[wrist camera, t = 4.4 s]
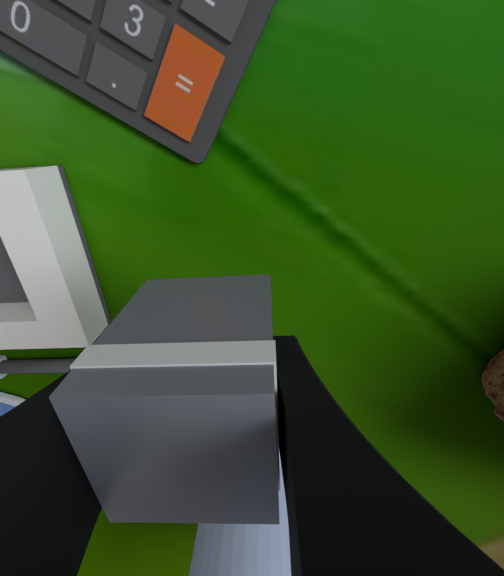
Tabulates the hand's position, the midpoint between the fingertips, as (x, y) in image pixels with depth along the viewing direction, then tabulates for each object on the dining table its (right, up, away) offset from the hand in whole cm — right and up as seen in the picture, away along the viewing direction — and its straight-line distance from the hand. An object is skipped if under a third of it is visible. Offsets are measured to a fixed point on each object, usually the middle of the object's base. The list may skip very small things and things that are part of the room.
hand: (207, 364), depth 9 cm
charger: (0, +1, +1) cm, 2 cm away
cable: (-11, -3, +11) cm, 16 cm away
